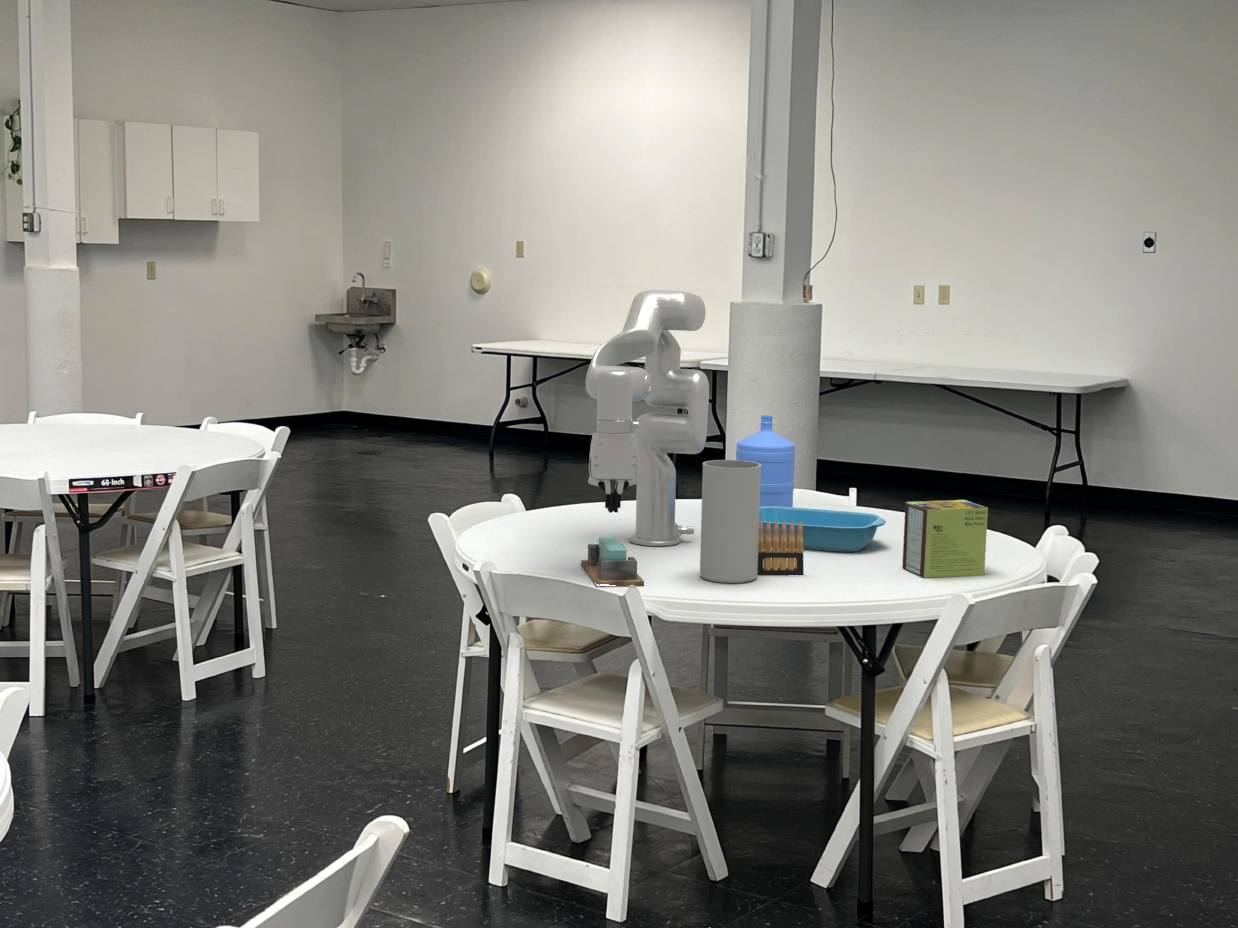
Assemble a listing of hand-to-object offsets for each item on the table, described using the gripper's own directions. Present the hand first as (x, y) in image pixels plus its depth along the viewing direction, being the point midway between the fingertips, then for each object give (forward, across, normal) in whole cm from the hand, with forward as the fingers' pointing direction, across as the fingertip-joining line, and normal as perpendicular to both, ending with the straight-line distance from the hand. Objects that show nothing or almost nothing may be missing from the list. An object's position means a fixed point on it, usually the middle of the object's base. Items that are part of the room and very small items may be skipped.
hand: (612, 511), depth 303 cm
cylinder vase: (+14, -25, +5) cm, 29 cm away
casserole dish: (+15, -55, -31) cm, 65 cm away
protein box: (+14, -75, +4) cm, 76 cm away
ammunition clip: (+14, -37, +3) cm, 40 cm away
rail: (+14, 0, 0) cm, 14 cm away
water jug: (+14, -52, -61) cm, 81 cm away
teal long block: (+13, 0, 0) cm, 13 cm away
